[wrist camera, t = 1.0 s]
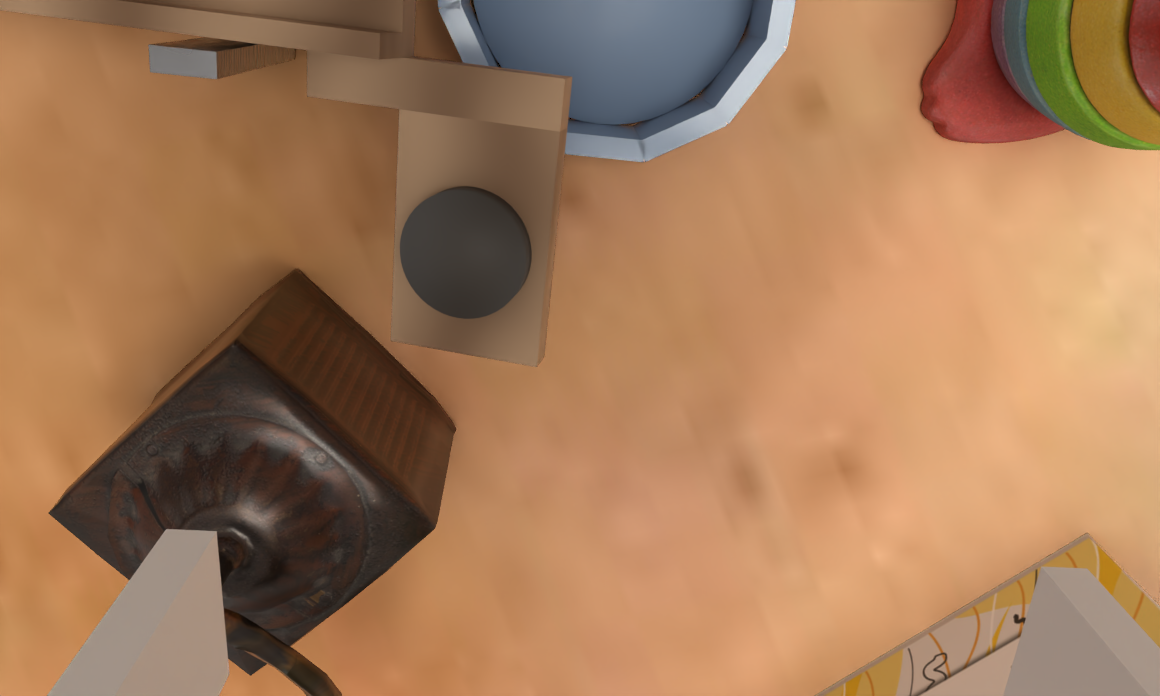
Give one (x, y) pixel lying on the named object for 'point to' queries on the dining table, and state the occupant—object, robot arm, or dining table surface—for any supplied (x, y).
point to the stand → (214, 57)
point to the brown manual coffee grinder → (276, 472)
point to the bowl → (631, 62)
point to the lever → (418, 156)
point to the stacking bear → (1048, 72)
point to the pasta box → (989, 634)
